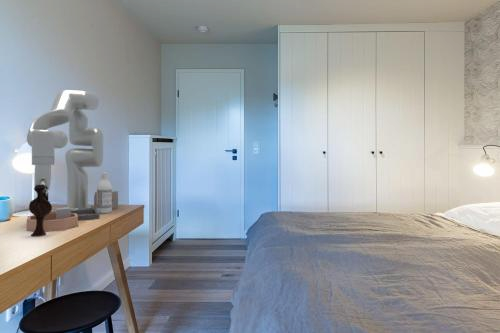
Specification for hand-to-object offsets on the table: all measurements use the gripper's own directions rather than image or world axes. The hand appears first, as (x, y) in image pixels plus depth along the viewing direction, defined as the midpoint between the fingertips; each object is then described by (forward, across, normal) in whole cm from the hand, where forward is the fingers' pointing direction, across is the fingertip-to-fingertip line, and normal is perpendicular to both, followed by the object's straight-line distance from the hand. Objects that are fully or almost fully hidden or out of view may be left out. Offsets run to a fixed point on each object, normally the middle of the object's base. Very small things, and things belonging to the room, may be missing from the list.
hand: (43, 204), depth 128 cm
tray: (+9, -14, +11) cm, 20 cm away
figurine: (+9, +15, -1) cm, 17 cm away
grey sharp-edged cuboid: (+8, +1, +7) cm, 11 cm away
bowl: (+9, +2, +3) cm, 10 cm away
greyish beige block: (+8, +1, 0) cm, 8 cm away
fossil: (+10, -31, +27) cm, 43 cm away
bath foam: (+10, -23, +25) cm, 36 cm away
